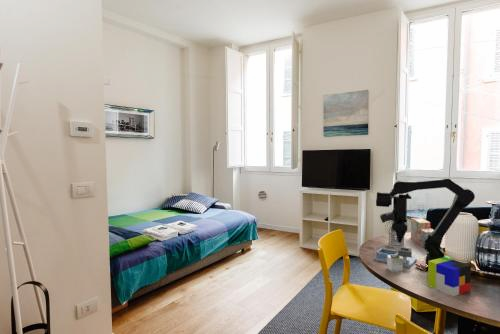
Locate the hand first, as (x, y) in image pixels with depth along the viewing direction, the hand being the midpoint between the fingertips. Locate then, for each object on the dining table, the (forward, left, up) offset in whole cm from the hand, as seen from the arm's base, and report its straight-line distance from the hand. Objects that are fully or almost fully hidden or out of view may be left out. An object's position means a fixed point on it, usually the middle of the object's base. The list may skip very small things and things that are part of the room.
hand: (399, 240), depth 146 cm
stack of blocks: (+8, -39, -11) cm, 41 cm away
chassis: (+3, -2, -11) cm, 12 cm away
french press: (+16, -24, -11) cm, 31 cm away
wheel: (-2, -1, -6) cm, 7 cm away
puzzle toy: (-25, +9, -11) cm, 29 cm away
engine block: (-3, +9, -11) cm, 15 cm away
